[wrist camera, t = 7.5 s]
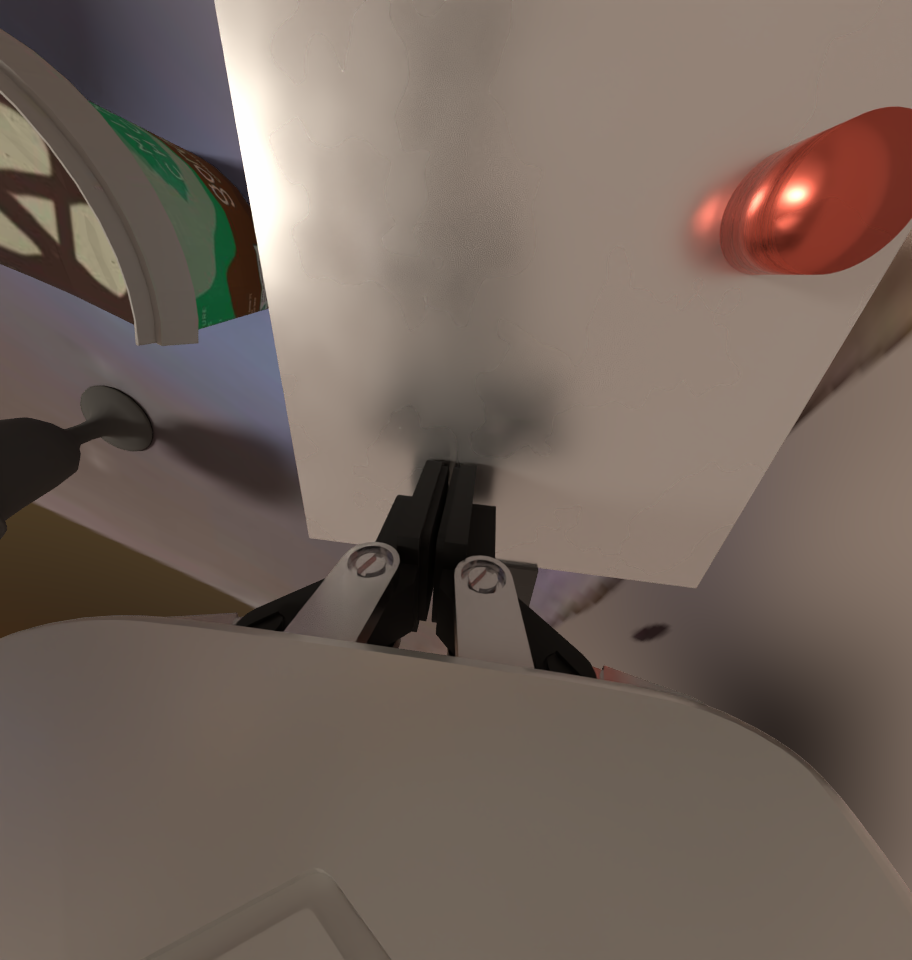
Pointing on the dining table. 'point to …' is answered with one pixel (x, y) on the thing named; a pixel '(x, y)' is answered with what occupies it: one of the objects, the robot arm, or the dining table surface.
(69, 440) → the sundae
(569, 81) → the lid
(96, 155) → the food container
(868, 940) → the robot arm
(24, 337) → the dining table surface
